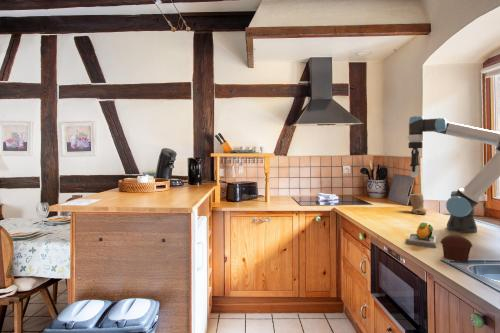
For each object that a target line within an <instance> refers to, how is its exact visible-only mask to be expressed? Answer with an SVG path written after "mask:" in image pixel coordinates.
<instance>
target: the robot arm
mask: <svg viewBox="0 0 500 333" xmlns="http://www.w3.org/2000/svg"><path fill="white" fill-rule="evenodd" d="M424 132H425V133H427V132H431V133H432V132H434V133H438V134H442V135H448V136H452V137H456V138H461V139H464V140H469V141H472V142H473V141H474V142H477V143H482V144H487V145H489V146H490V145H491V146H495V147H496V148H495V154H494V155H493V156H492V157H491V158H490V159H489V160H488V162H486V163H485V165H483V166H482V168H481V169H480V170H479V171H478V172H477V173H476V174H475V175H474V176H473V178H471V180H470V181H469V182H468V183H467V184H466V185H465V186H464V187H462V188H458V189H457V190H453V191H451V192H450V197H449V198H448V199H447V201H446V204H445V208H446V210H447V211H448V213H449V214H450V215H449V216H450V217H449V218H448V220H447V223H446V228H447V229H446V230H450V231H455V232H458V233H476V232H478V226H477V224H476V220H475V218H474V217H475V216H474V215H475V207H476V206H477V205H478V204H479V203H480V197H482V195H483V194H485V192H486V191H487V190H488V189H489V188H490V187H491V186H493V184H495V182H496V181H498V179H499V178H500V132H499V131H494V130H489V129H486V128H485V129H484V128H480V127H474V126H470V125H466V124H465V125H464V124H460V123H455V122H450V121H447V118H445V117H441V118H440V117H439V118H427V119H426V118H425V119H424V116H423V115H415V116H414V115H413V116H410V117H409V120H408V136H407V138H408V148H409V149H411V152H410V154H411V159H410V164H409V167H410V178H417V177H418V176H419V166H420V163H419V156H420V151H419V149H422V148H423V139H424V138H423V137H424Z"/></svg>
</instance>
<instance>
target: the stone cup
mask: <svg viewBox="0 0 500 333" xmlns="http://www.w3.org/2000/svg"><path fill="white" fill-rule="evenodd" d="M408 197H409V201H410V204H411V206H412V208H411V212H412V213H413V214H416V215H425V214H427V210H426V209H425V208H424V207H423V205H424V195H423V193H411V194H409V195H408Z"/></svg>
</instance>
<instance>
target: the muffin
mask: <svg viewBox="0 0 500 333" xmlns="http://www.w3.org/2000/svg"><path fill="white" fill-rule="evenodd" d="M440 243H441V244H442V245H441V246H442V251H443V258H445V259H446V260H448V261H452V260H454V261H453V262H457V261H460V262H459V263H464V262H468V261H469V260H468V259H469V256H470V253H471V248H472V247H473V244H472V242H471V241H470V240H469V239H467V238H466V237H465V236H463V235H462V236H461V235H457V234H449V235H446V236H444V237H443V238H442V239H441V241H440Z"/></svg>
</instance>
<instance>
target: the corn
mask: <svg viewBox="0 0 500 333" xmlns="http://www.w3.org/2000/svg"><path fill="white" fill-rule="evenodd" d="M433 232H434V228H433V225H431V224H430V223H429V224H428V222H424V221H423V222H420V223H419V225H418V227H417V230H416V233H415V234H416V235H417V237H418V238H420V239H421V238H426V237H428V240H429V239H430V238H431V236H433Z"/></svg>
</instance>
